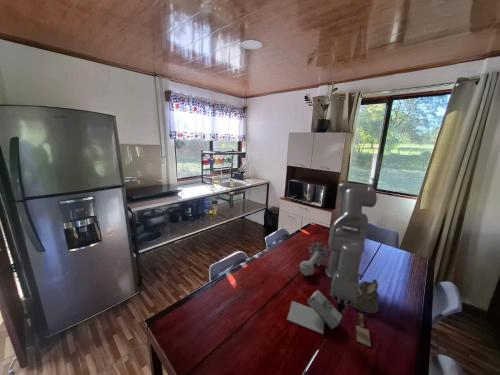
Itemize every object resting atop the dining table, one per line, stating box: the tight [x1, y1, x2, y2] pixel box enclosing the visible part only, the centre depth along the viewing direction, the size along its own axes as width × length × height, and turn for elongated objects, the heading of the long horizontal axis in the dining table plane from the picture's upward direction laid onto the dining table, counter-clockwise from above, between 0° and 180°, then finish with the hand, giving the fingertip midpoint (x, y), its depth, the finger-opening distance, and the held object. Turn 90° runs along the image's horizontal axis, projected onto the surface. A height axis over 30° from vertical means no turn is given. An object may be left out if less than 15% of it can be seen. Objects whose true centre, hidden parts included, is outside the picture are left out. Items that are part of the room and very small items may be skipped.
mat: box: [286, 300, 325, 335], centre depth 96 cm, size 12×16×1 cm
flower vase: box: [299, 241, 329, 277], centre depth 133 cm, size 13×18×25 cm
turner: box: [355, 312, 372, 348], centre depth 92 cm, size 16×5×1 cm, turn 156°
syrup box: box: [306, 289, 344, 330], centre depth 94 cm, size 6×6×14 cm
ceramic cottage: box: [347, 279, 380, 314], centre depth 107 cm, size 16×16×15 cm
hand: (340, 309), depth 89 cm, fingers closed
